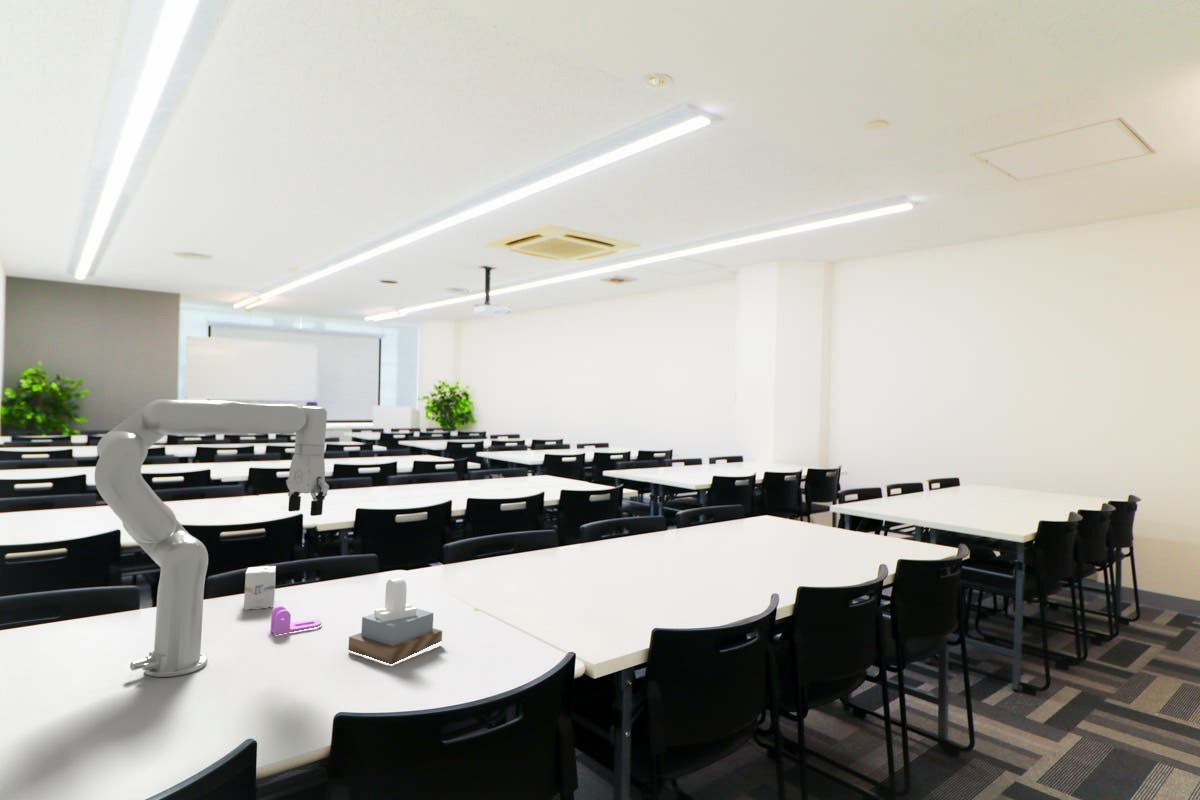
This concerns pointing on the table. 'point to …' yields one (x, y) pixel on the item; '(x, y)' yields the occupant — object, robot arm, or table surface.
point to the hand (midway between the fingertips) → (304, 513)
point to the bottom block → (392, 652)
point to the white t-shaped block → (395, 602)
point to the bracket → (288, 622)
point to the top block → (397, 628)
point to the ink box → (259, 587)
